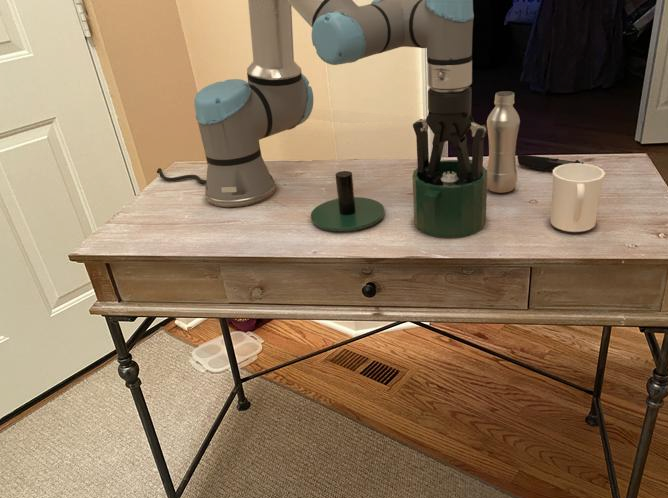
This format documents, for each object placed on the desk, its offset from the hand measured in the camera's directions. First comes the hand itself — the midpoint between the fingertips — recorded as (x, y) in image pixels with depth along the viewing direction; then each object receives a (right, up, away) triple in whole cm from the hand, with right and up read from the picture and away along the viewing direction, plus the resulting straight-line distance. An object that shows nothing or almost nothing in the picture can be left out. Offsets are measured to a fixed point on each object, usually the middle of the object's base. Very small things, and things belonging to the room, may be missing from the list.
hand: (449, 212), depth 116 cm
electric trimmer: (+25, +12, +20) cm, 34 cm away
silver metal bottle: (+12, +6, +13) cm, 19 cm away
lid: (-20, 0, +6) cm, 21 cm away
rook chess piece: (0, 0, 0) cm, 0 cm away
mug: (+22, -4, -4) cm, 23 cm away
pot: (0, -2, +1) cm, 2 cm away
